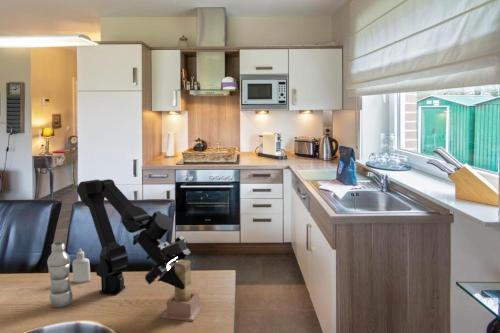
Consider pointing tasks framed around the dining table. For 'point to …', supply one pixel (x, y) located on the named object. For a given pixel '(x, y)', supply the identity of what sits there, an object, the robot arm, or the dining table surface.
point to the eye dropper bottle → (81, 268)
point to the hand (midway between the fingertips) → (186, 286)
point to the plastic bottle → (59, 276)
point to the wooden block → (183, 280)
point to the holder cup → (183, 308)
